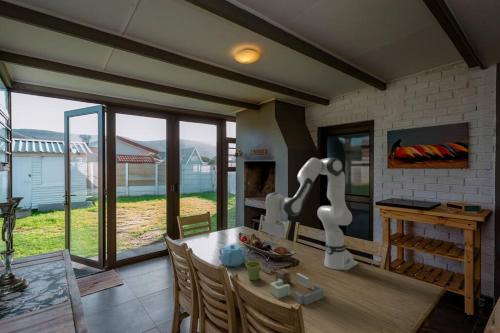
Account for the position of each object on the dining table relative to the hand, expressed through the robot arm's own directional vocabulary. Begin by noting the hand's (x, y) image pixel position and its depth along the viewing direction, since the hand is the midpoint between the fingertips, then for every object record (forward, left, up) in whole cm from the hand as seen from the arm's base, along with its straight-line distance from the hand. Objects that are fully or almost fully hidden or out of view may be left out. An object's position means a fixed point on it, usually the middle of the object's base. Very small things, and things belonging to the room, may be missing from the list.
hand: (273, 241), depth 151 cm
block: (0, +8, -21) cm, 23 cm away
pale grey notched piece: (+3, +18, -21) cm, 28 cm away
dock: (0, +30, -21) cm, 37 cm away
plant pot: (+12, -5, -21) cm, 25 cm away
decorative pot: (+13, -32, -21) cm, 41 cm away
